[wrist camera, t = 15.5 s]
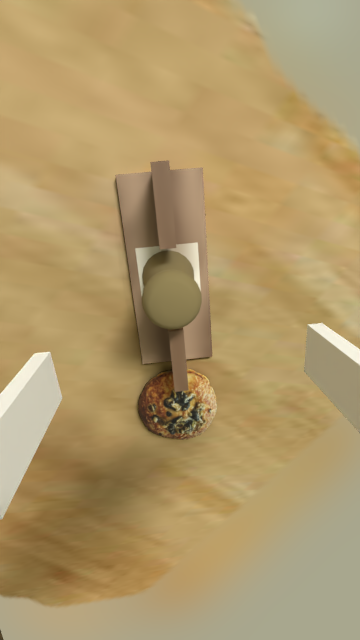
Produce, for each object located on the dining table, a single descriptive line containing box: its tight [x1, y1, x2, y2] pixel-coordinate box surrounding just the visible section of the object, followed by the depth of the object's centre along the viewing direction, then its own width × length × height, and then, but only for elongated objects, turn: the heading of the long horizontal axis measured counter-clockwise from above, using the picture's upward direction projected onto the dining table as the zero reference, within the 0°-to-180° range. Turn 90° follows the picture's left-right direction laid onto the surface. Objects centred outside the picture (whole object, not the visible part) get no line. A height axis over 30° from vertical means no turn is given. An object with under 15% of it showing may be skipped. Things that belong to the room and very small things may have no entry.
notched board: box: [116, 161, 212, 392], centre depth 32 cm, size 9×22×8 cm, turn 5°
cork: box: [142, 250, 202, 330], centre depth 30 cm, size 6×6×11 cm
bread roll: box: [138, 369, 217, 440], centre depth 41 cm, size 11×11×5 cm
